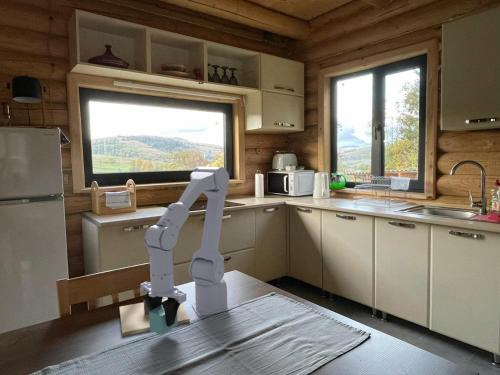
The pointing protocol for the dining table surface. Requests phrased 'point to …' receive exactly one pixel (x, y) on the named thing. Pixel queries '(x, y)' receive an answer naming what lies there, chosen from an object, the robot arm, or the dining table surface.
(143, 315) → the base plate
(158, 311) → the mint green mini box
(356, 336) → the dining table surface
